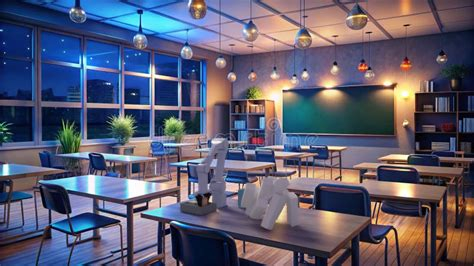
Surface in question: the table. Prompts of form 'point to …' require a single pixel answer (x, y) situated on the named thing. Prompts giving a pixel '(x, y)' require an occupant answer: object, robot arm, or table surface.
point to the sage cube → (193, 203)
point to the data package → (240, 197)
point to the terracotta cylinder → (204, 201)
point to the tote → (198, 208)
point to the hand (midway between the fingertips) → (203, 205)
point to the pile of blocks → (270, 201)
